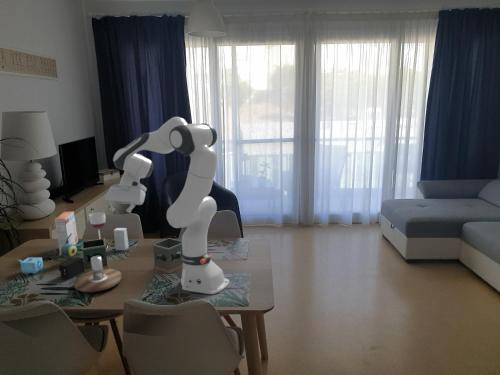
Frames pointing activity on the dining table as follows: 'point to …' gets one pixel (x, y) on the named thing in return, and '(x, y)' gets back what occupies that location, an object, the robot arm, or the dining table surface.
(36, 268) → the teapot
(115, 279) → the turntable platter
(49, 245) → the dining table surface
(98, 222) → the wineglass
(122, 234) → the skincare box
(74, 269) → the digital camera
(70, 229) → the cracker box
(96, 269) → the cast sleeve
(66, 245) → the decorative fish
